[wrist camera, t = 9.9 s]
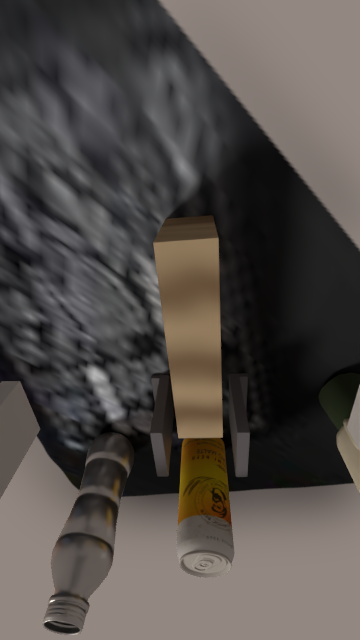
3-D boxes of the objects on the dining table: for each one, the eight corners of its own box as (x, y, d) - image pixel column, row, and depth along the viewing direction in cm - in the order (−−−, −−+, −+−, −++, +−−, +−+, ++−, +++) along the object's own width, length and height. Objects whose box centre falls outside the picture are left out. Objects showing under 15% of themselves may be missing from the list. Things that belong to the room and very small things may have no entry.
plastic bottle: (119, 420, 42) (63, 608, 24) (145, 448, 45) (112, 636, 27) (84, 434, 44) (9, 619, 26) (112, 460, 46) (60, 643, 29)
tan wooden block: (165, 218, 28) (153, 242, 20) (212, 214, 28) (218, 237, 20) (182, 379, 38) (178, 438, 30) (217, 378, 38) (222, 437, 30)
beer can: (231, 436, 42) (246, 561, 29) (211, 459, 45) (216, 584, 32) (194, 421, 41) (192, 545, 28) (175, 446, 44) (166, 569, 31)
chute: (151, 375, 38) (139, 433, 30) (247, 373, 37) (260, 432, 29) (157, 414, 41) (148, 476, 33) (245, 413, 40) (256, 476, 32)
